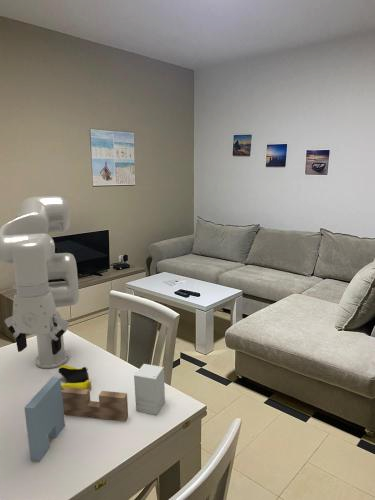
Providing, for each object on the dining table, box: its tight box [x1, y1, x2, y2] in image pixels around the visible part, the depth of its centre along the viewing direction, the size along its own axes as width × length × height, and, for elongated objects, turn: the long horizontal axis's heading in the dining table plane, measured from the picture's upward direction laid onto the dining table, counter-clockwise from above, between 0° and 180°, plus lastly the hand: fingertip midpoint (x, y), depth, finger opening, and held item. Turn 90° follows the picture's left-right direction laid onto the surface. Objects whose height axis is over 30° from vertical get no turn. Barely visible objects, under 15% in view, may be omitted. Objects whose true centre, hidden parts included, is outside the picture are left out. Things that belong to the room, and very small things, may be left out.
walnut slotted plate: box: [62, 387, 129, 422], centre depth 116 cm, size 20×2×8 cm, turn 81°
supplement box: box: [133, 363, 166, 416], centre depth 120 cm, size 7×7×13 cm
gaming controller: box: [57, 364, 92, 390], centre depth 132 cm, size 15×6×10 cm
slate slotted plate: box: [24, 376, 66, 462], centre depth 104 cm, size 14×2×16 cm, turn 171°
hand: (39, 350), depth 100 cm, fingers open, 9 cm apart
